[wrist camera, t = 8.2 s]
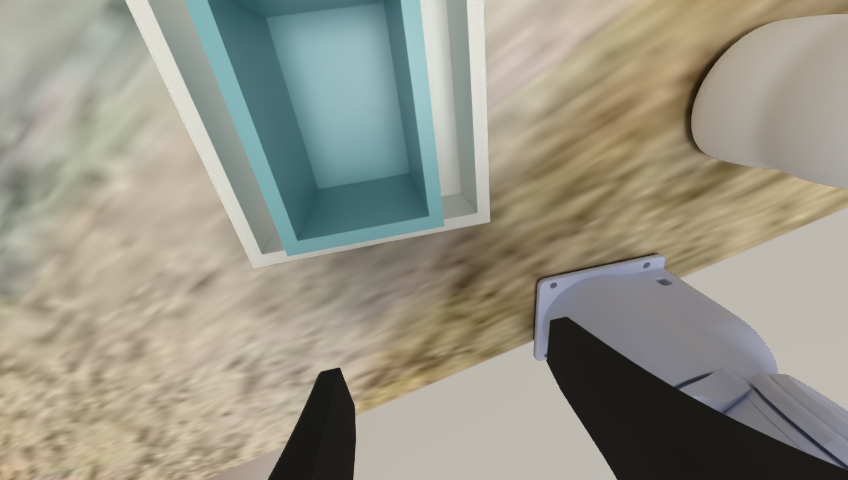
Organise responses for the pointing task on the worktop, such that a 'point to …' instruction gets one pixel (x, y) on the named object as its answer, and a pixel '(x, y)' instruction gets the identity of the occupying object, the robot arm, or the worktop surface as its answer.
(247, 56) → the teal crate
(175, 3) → the white crate
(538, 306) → the robot arm
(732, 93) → the water bottle
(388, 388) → the worktop surface
